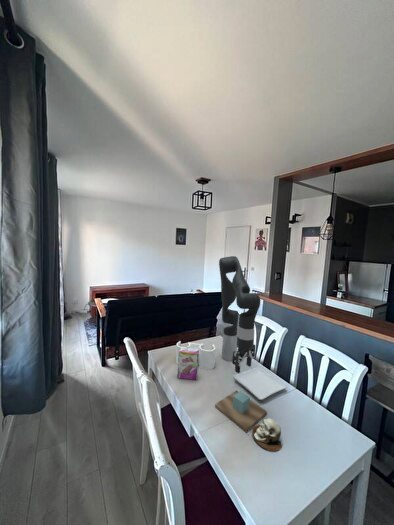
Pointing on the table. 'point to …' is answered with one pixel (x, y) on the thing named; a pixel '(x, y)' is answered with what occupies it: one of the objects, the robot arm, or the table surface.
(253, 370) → the salad plate
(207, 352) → the bracket
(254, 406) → the walnut board
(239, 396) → the slate cube
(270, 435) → the skull
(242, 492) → the table surface
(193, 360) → the candy bar box
